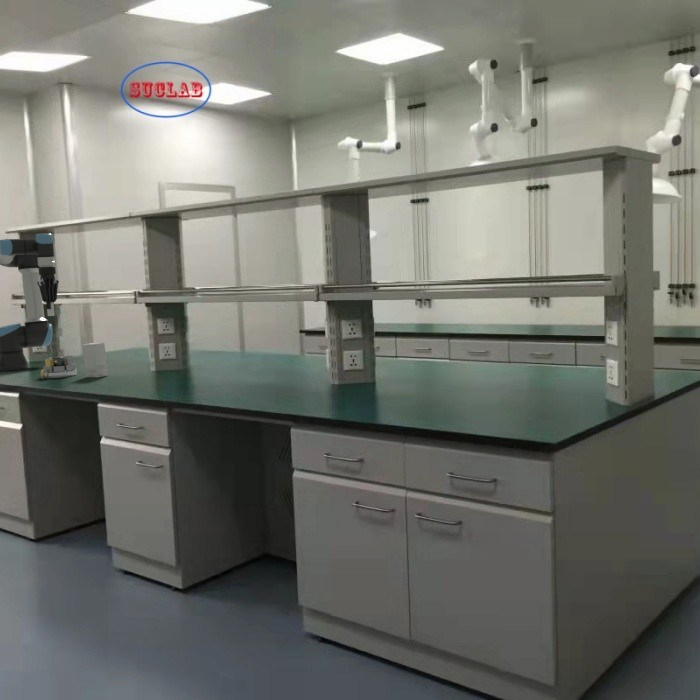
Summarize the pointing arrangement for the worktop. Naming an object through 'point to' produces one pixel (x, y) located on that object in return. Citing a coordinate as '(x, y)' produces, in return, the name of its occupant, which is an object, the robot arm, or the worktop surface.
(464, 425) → the worktop surface
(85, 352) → the skincare box
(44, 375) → the post
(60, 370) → the ring nut
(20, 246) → the robot arm
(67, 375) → the housing
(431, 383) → the worktop surface
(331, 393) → the worktop surface
